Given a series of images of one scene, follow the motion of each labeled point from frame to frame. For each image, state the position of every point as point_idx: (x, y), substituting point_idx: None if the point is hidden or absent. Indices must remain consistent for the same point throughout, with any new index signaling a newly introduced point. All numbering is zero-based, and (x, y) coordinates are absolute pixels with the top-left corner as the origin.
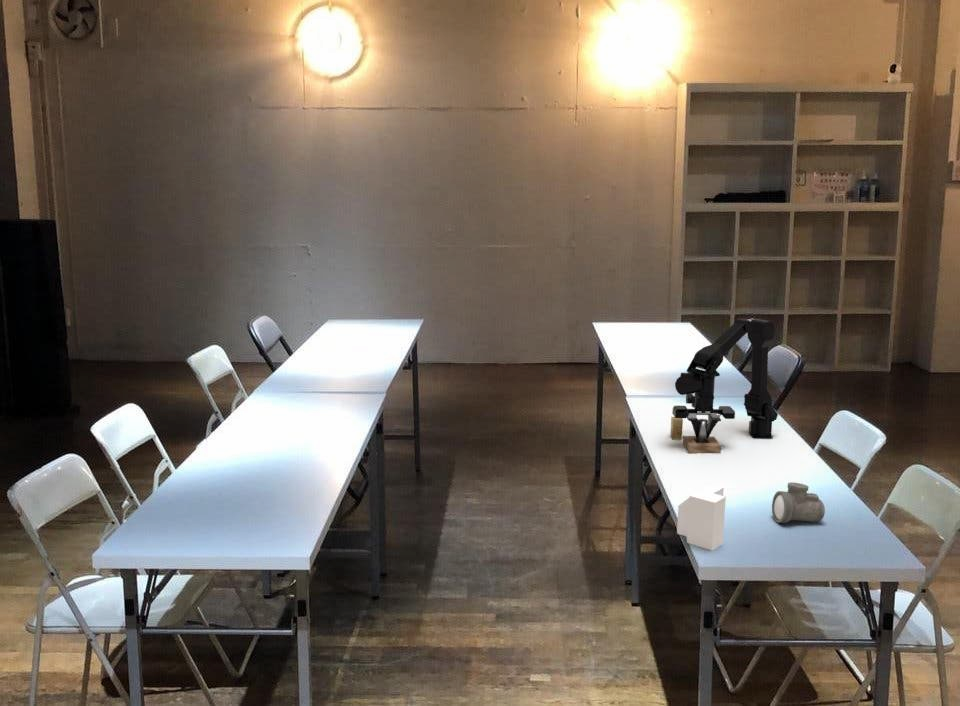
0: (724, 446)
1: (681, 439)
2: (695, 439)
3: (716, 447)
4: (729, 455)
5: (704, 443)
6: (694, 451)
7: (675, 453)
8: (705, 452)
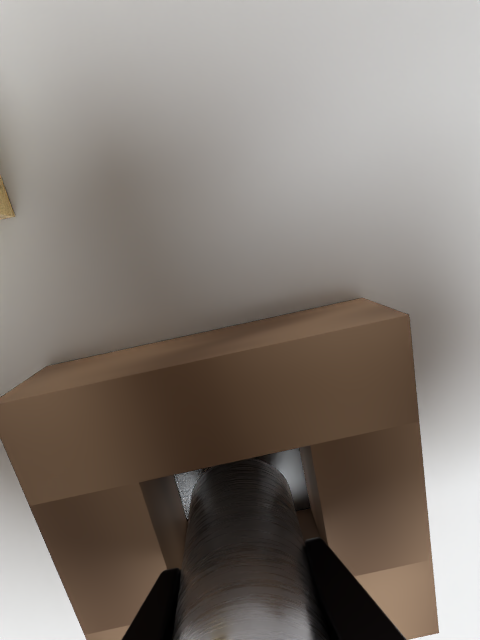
0: (462, 342)
1: (8, 216)
2: (166, 471)
3: None
4: (458, 568)
5: None
6: None
7: (30, 633)
8: None
